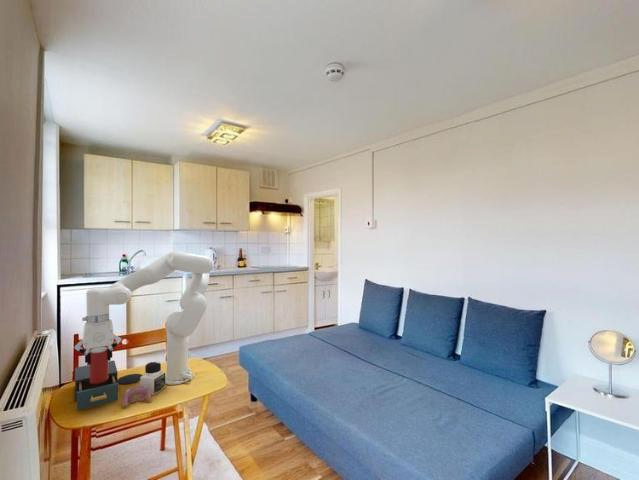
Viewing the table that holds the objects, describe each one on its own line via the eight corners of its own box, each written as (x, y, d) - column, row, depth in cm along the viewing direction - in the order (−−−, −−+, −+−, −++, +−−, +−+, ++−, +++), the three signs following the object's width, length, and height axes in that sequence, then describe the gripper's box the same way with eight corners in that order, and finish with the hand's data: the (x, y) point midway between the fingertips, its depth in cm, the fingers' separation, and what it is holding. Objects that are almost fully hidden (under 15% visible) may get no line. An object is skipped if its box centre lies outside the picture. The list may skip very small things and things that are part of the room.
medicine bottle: (154, 395, 136) (154, 367, 135) (139, 393, 137) (140, 365, 137) (165, 387, 143) (165, 360, 142) (151, 385, 144) (151, 359, 144)
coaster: (148, 376, 153) (148, 375, 153) (129, 386, 143) (129, 385, 143) (131, 373, 156) (131, 372, 156) (111, 382, 146) (111, 381, 146)
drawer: (119, 404, 126) (119, 387, 126) (76, 415, 118) (76, 397, 118) (114, 386, 141) (115, 371, 141) (76, 395, 133) (76, 379, 133)
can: (112, 377, 132) (111, 347, 132) (97, 384, 126) (96, 353, 126) (101, 375, 134) (100, 346, 134) (85, 382, 128) (85, 351, 128)
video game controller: (150, 401, 133) (149, 384, 136) (151, 401, 130) (150, 383, 132) (122, 408, 128) (122, 389, 130) (122, 408, 124) (122, 388, 127)
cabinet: (117, 391, 138) (117, 371, 138) (74, 401, 129) (75, 380, 129) (114, 378, 151) (114, 360, 151) (75, 386, 142) (75, 367, 142)
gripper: (71, 324, 122) (71, 370, 122) (124, 316, 132) (124, 359, 132) (71, 319, 127) (72, 364, 128) (122, 313, 138) (122, 354, 138)
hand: (98, 361), depth 130 cm, fingers closed on can, 6 cm apart
